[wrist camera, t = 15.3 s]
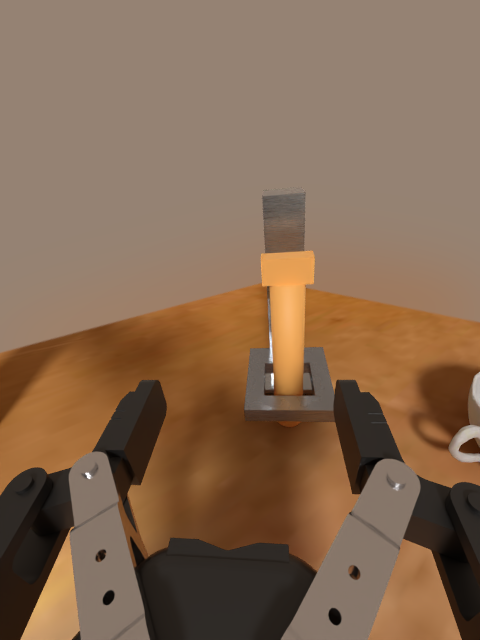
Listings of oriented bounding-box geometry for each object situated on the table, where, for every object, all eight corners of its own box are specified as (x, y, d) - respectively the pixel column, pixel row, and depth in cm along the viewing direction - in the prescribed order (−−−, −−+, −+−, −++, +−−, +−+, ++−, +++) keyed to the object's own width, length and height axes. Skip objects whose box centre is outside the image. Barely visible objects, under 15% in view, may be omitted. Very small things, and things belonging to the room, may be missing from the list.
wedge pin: (270, 426, 34) (260, 263, 24) (270, 405, 37) (261, 250, 26) (308, 427, 33) (316, 260, 23) (306, 405, 36) (311, 247, 26)
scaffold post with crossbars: (333, 450, 31) (361, 212, 18) (248, 447, 32) (221, 223, 19) (306, 315, 54) (310, 172, 42) (258, 316, 55) (248, 178, 43)
